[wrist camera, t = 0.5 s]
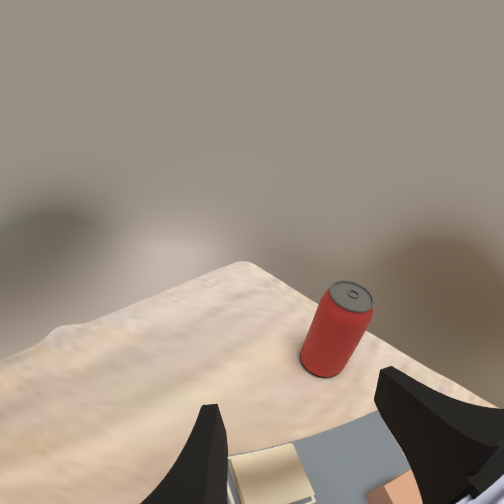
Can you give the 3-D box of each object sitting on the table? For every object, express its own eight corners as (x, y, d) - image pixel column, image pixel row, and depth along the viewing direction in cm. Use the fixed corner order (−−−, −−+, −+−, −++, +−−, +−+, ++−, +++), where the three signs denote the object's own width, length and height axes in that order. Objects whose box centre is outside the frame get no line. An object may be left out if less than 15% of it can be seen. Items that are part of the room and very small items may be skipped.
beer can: (350, 358, 36) (385, 294, 30) (330, 387, 31) (368, 322, 25) (314, 336, 39) (339, 270, 33) (289, 361, 35) (314, 293, 29)
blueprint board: (427, 504, 15) (432, 502, 14) (250, 587, 8) (251, 589, 8) (374, 413, 28) (377, 409, 27) (206, 461, 21) (206, 458, 21)
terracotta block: (412, 514, 14) (434, 506, 12) (384, 532, 13) (406, 528, 10) (392, 478, 19) (412, 467, 17) (364, 494, 17) (384, 486, 15)
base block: (304, 498, 18) (315, 494, 16) (244, 515, 16) (249, 513, 14) (285, 452, 22) (292, 443, 21) (228, 464, 21) (230, 457, 19)
